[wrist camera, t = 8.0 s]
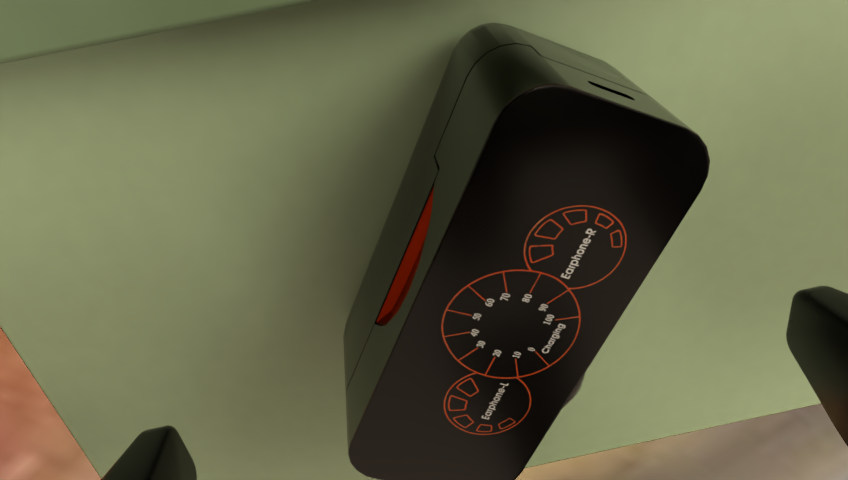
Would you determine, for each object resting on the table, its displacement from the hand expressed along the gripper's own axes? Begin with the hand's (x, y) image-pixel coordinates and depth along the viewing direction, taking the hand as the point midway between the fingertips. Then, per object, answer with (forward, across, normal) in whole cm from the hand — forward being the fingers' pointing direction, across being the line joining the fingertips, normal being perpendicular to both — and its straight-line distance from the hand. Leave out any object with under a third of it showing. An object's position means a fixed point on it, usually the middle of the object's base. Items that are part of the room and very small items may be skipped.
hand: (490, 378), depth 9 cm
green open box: (+9, 0, 0) cm, 9 cm away
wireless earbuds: (+3, -1, 0) cm, 3 cm away
